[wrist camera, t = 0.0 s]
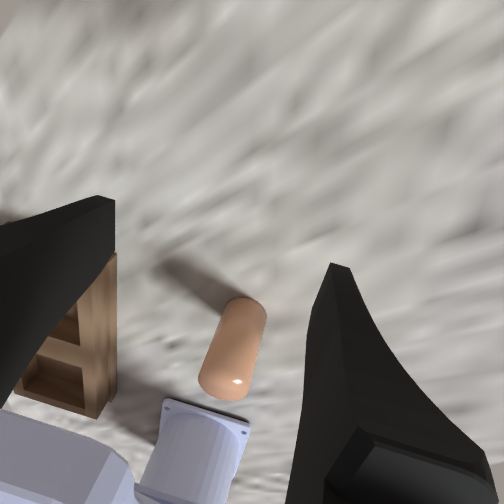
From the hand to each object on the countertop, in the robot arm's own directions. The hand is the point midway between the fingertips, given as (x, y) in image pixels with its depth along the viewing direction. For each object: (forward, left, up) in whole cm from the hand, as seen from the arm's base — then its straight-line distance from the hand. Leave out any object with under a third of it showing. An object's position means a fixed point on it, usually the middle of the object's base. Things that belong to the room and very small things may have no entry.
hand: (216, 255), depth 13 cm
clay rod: (-12, -1, -10) cm, 16 cm away
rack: (-18, +12, -10) cm, 24 cm away
